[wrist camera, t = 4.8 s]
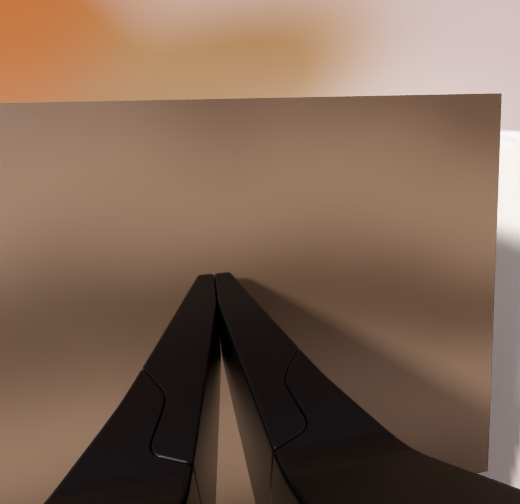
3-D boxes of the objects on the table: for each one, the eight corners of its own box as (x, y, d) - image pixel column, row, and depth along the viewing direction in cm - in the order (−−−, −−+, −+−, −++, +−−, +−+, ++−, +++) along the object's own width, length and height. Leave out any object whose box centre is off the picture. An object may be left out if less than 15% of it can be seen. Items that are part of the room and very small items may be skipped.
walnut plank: (437, 424, 14) (487, 471, 11) (-25, 505, 11) (-88, 587, 9) (441, 115, 12) (501, 93, 10) (-104, 132, 10) (-209, 107, 7)
